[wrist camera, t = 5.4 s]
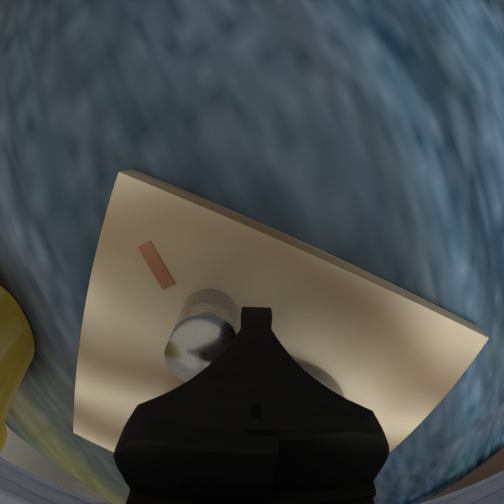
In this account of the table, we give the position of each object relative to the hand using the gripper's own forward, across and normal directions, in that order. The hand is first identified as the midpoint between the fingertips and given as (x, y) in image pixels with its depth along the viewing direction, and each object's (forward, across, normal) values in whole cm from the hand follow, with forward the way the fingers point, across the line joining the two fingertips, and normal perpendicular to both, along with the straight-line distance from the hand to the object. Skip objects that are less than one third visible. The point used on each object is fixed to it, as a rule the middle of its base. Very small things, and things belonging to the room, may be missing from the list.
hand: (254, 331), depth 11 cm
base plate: (+3, 0, +7) cm, 7 cm away
